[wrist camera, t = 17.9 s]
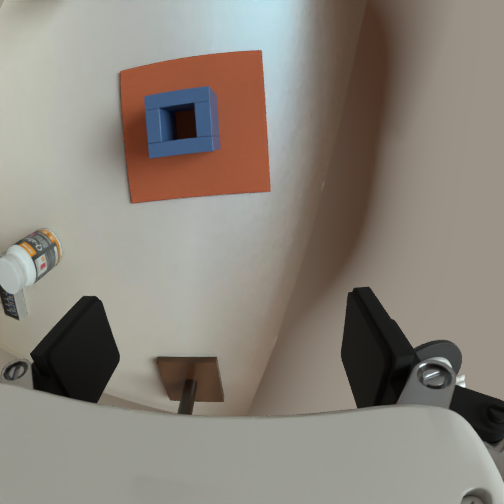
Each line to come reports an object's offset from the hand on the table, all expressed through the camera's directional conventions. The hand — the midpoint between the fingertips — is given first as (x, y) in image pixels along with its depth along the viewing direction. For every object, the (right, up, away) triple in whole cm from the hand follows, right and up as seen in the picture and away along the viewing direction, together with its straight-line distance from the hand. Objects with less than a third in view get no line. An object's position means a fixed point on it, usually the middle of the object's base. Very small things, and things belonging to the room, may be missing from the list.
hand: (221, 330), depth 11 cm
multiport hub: (-39, -2, +27) cm, 47 cm away
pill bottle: (-28, +4, +25) cm, 37 cm away
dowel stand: (-8, -17, +33) cm, 38 cm away
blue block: (-5, +16, +19) cm, 26 cm away
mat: (-5, +17, +20) cm, 26 cm away
